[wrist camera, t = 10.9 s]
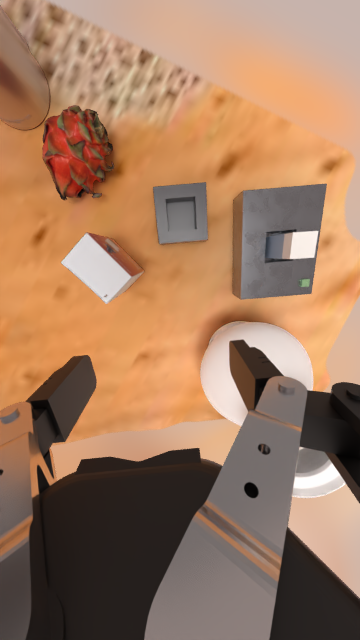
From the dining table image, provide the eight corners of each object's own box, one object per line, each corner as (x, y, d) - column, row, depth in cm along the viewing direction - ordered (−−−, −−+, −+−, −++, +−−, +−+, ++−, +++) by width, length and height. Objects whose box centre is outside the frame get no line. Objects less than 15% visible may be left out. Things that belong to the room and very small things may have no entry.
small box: (145, 271, 36) (133, 277, 26) (125, 291, 37) (106, 305, 28) (112, 237, 34) (86, 230, 24) (91, 259, 35) (59, 262, 26)
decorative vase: (194, 310, 39) (223, 399, 15) (283, 306, 39) (448, 387, 15) (196, 385, 45) (219, 533, 21) (273, 381, 45) (382, 524, 21)
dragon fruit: (118, 134, 31) (86, 205, 36) (57, 77, 25) (29, 171, 30) (132, 141, 26) (94, 223, 30) (60, 71, 20) (26, 186, 24)
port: (233, 199, 33) (244, 189, 28) (304, 193, 33) (329, 182, 28) (232, 293, 38) (241, 300, 33) (294, 288, 38) (313, 294, 33)
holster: (154, 192, 32) (152, 186, 29) (203, 188, 32) (206, 182, 29) (160, 244, 35) (159, 243, 32) (205, 240, 35) (207, 239, 32)
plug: (260, 238, 34) (292, 232, 24) (278, 237, 34) (318, 230, 24) (258, 257, 35) (289, 259, 25) (276, 256, 35) (314, 257, 25)
